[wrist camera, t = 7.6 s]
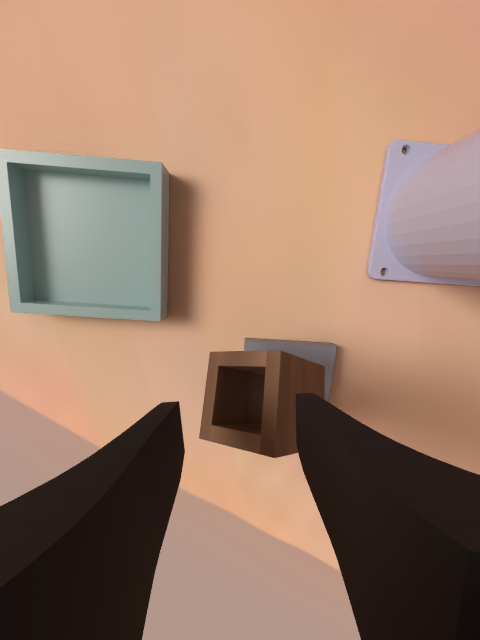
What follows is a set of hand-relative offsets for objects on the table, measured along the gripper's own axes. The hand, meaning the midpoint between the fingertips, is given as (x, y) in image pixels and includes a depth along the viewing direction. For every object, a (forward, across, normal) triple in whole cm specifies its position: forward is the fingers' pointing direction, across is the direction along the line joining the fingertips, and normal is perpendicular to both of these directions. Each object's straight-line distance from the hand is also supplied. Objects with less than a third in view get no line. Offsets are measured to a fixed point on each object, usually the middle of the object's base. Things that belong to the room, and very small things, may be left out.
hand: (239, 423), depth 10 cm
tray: (+9, +8, -7) cm, 14 cm away
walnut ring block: (+6, -3, +3) cm, 7 cm away
